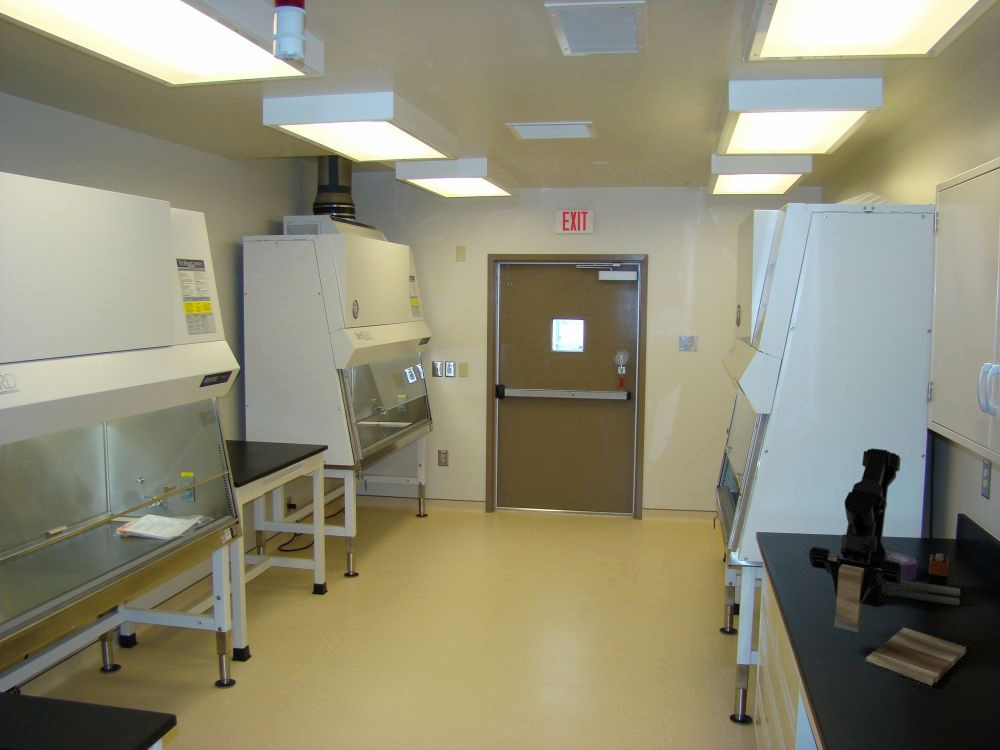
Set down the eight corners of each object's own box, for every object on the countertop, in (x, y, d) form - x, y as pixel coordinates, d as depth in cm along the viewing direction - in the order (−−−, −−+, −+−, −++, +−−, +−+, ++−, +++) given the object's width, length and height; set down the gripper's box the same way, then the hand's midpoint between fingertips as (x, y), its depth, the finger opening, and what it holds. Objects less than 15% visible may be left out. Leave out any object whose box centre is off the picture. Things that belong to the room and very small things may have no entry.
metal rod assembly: (957, 604, 196) (959, 585, 195) (959, 608, 193) (960, 589, 193) (848, 587, 206) (849, 570, 205) (848, 591, 203) (850, 573, 203)
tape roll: (905, 567, 222) (906, 551, 221) (923, 582, 210) (924, 565, 209) (863, 565, 223) (864, 549, 222) (878, 580, 211) (880, 563, 211)
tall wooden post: (837, 618, 172) (841, 563, 170) (861, 624, 169) (865, 568, 168) (834, 626, 168) (837, 570, 166) (857, 632, 165) (861, 575, 164)
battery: (927, 593, 202) (929, 557, 201) (927, 585, 208) (930, 550, 206) (945, 597, 200) (949, 561, 198) (946, 589, 205) (949, 553, 204)
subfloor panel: (903, 633, 178) (904, 627, 178) (965, 653, 169) (966, 647, 168) (865, 664, 163) (866, 657, 163) (931, 687, 154) (932, 680, 154)
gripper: (813, 512, 174) (800, 573, 166) (904, 527, 164) (894, 592, 156) (817, 536, 182) (805, 595, 174) (905, 551, 171) (896, 615, 164)
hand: (848, 599), depth 167 cm, fingers closed on tall wooden post, 4 cm apart
